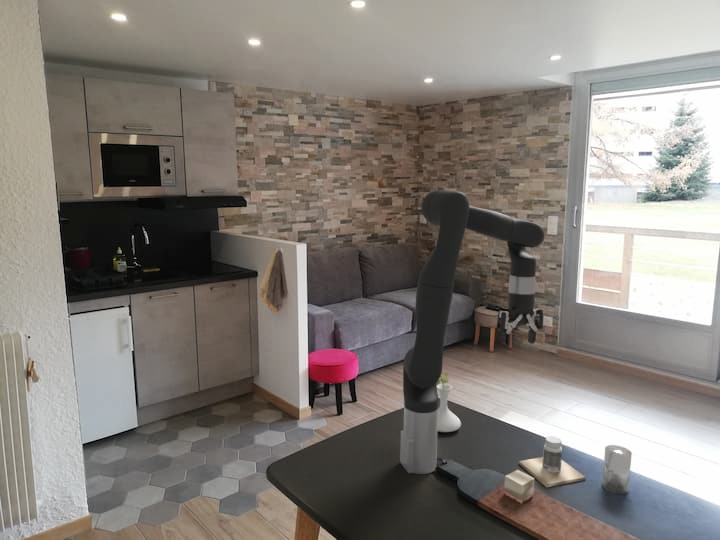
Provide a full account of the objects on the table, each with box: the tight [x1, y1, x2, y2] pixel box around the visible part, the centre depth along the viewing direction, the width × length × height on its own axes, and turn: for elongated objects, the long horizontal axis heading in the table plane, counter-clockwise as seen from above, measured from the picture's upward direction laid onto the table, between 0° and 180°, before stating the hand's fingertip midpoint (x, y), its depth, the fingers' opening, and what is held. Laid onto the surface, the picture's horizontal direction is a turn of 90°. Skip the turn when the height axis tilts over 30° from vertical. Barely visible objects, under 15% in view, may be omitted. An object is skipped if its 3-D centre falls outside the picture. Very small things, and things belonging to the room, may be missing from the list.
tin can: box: [601, 444, 632, 495], centre depth 130 cm, size 6×6×10 cm
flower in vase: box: [437, 372, 462, 433], centre depth 161 cm, size 13×11×25 cm
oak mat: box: [518, 456, 586, 488], centre depth 138 cm, size 12×12×1 cm
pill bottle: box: [542, 436, 563, 473], centre depth 137 cm, size 5×5×8 cm
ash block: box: [503, 469, 536, 501], centre depth 127 cm, size 5×5×5 cm
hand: (518, 344), depth 152 cm, fingers open, 8 cm apart
